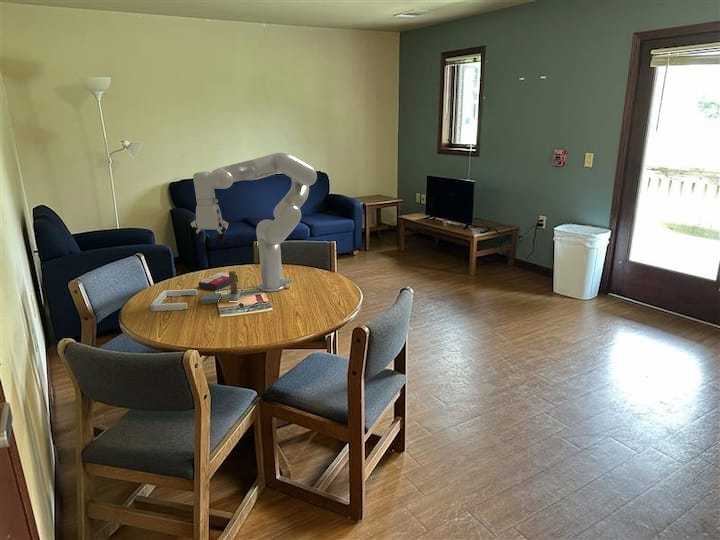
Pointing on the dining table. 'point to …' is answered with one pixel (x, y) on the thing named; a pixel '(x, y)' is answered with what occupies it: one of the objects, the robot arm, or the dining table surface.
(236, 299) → the scraper
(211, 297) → the tile
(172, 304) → the bay
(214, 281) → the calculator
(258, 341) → the dining table surface
